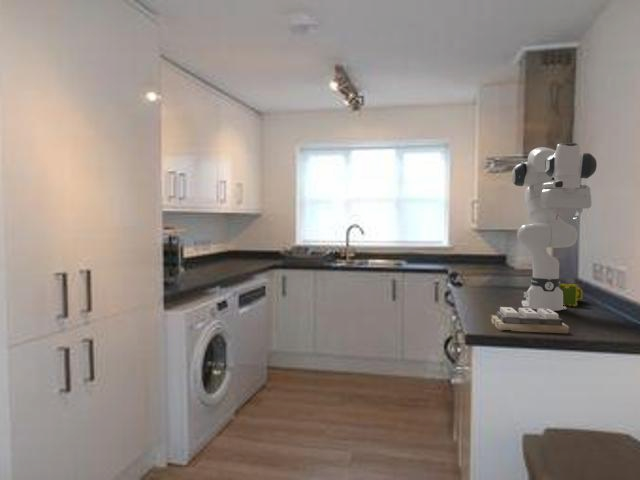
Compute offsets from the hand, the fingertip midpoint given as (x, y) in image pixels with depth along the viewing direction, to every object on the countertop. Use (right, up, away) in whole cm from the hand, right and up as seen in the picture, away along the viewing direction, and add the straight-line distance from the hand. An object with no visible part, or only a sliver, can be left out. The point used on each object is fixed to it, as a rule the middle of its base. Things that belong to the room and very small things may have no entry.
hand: (565, 220), depth 192 cm
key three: (-10, -37, -5) cm, 38 cm away
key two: (-16, -37, -4) cm, 40 cm away
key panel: (-16, -41, -4) cm, 44 cm away
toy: (+26, -39, +57) cm, 74 cm away
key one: (-23, -37, -3) cm, 43 cm away
